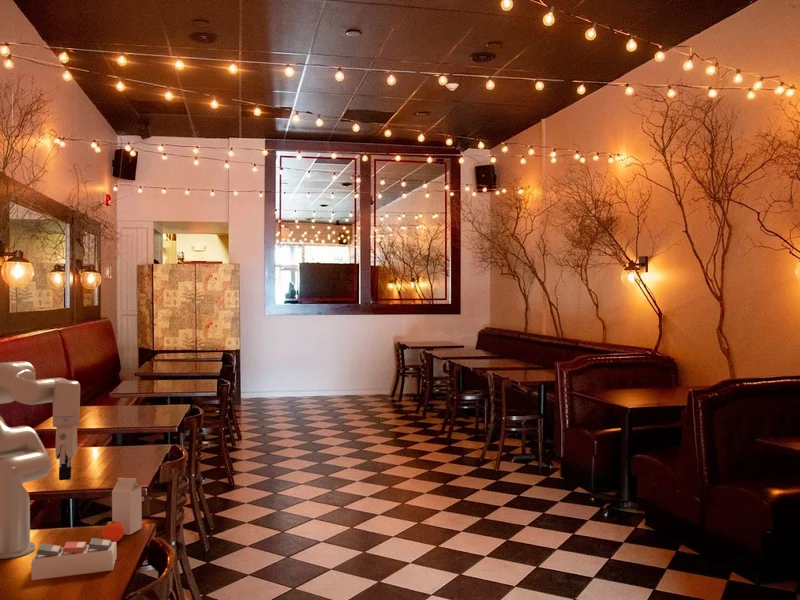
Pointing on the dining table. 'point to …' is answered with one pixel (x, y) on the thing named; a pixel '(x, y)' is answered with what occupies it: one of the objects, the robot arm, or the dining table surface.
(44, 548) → the rocker
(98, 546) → the plate
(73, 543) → the rocker mid
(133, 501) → the milk carton
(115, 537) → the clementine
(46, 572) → the rocker switch panel
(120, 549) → the dining table surface
